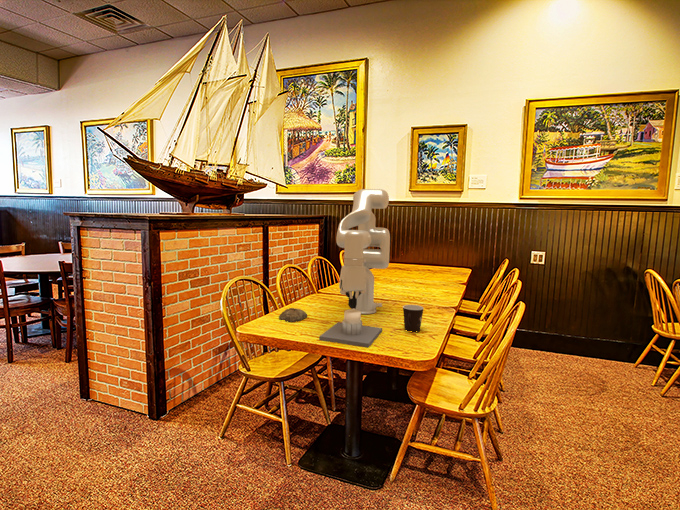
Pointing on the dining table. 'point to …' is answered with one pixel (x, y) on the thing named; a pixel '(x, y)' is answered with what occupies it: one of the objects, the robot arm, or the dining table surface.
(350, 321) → the plug
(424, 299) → the dining table surface
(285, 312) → the seeded bread roll
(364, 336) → the square plate with socket
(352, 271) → the robot arm
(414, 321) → the coffee mug
